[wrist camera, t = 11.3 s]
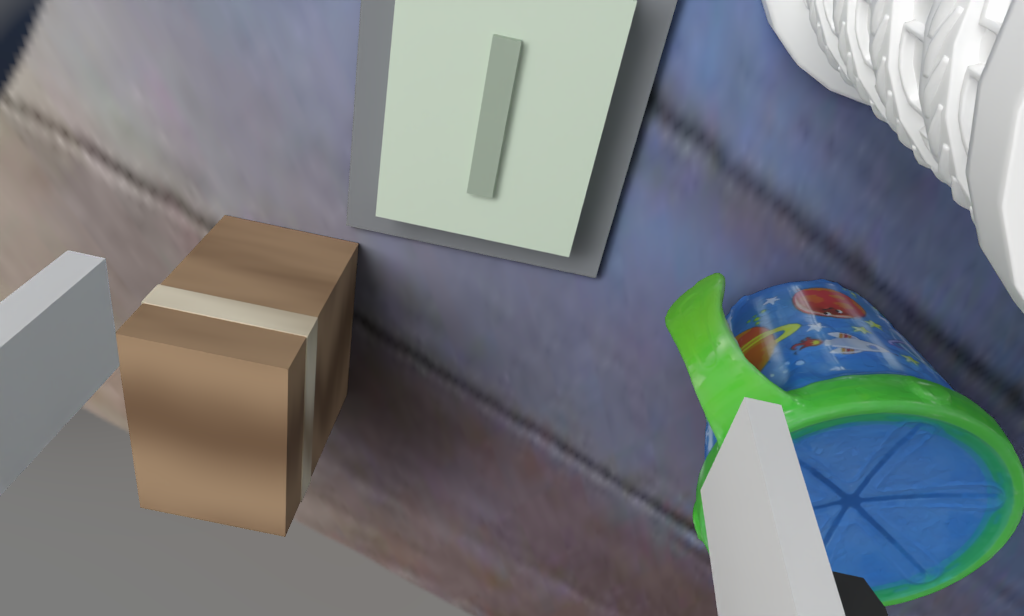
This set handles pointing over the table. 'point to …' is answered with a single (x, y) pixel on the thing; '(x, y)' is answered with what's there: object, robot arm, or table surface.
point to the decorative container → (933, 95)
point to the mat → (608, 166)
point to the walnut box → (239, 373)
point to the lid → (498, 114)
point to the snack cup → (856, 431)
